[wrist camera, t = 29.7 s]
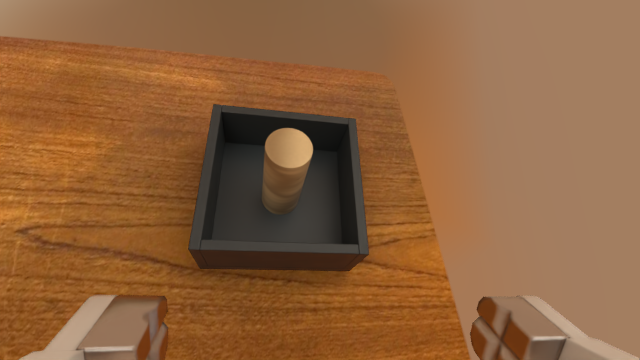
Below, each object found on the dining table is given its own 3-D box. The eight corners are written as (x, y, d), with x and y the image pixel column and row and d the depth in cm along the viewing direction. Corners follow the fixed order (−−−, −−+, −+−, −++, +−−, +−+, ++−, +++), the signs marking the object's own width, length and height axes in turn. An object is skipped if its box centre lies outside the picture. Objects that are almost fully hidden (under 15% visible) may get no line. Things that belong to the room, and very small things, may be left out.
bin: (341, 151, 37) (355, 118, 32) (349, 271, 30) (369, 254, 25) (219, 141, 34) (213, 103, 29) (199, 268, 28) (187, 249, 23)
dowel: (298, 182, 33) (312, 129, 25) (298, 215, 31) (313, 169, 23) (262, 180, 32) (266, 125, 24) (260, 213, 30) (263, 166, 23)
